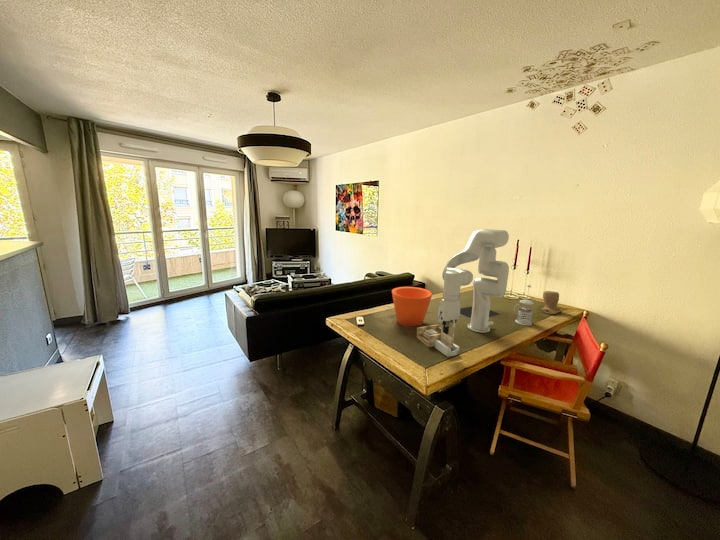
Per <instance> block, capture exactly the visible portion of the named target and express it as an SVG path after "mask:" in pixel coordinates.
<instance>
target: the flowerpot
mask: <svg viewBox="0 0 720 540" xmlns="http://www.w3.org/2000/svg"><path fill="white" fill-rule="evenodd" d="M391 294H392V301H393V306H394V312H395V315H396V317H395V318H396V322H397V323H398V324H399V325H400V326H403V327H407V328H408V327H415V326H416V327H417V326H421V325H422V326H423V323H424V321H425V318H426V315H427V311H428V309H429V306H430V303H431V300H432V297H433V292H432V291H430V290H429V289H425V288H422V287H417V286H416V287H415V286H399V287H395V288H393V289H392V290H391Z"/></svg>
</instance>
